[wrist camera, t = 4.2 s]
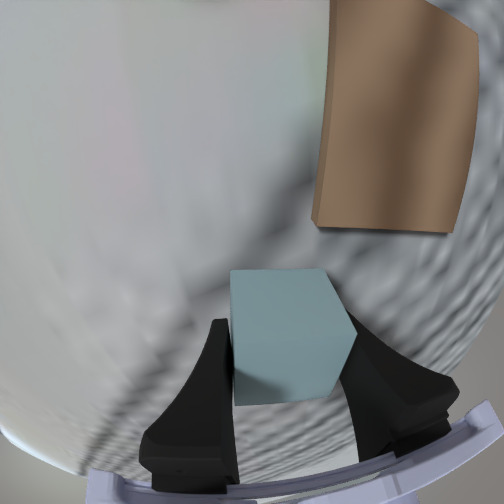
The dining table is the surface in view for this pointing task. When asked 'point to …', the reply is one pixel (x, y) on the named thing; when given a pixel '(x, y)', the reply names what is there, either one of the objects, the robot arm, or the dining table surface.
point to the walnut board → (396, 116)
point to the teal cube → (286, 335)
